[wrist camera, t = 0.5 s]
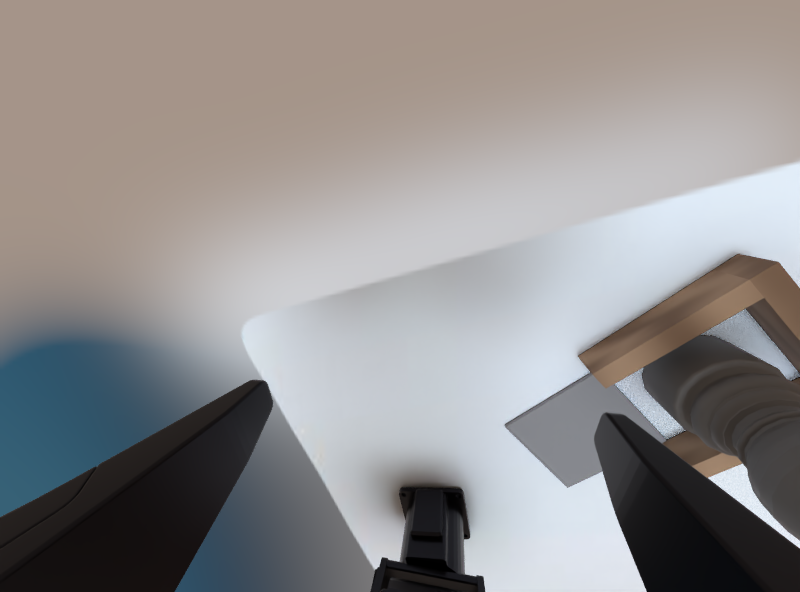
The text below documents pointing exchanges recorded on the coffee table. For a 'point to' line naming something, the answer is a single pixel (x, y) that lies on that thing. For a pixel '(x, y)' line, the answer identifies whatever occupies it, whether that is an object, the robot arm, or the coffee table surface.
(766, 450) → the candle holder
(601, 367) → the wooden u-shaped frame
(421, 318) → the coffee table surface
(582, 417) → the mat
